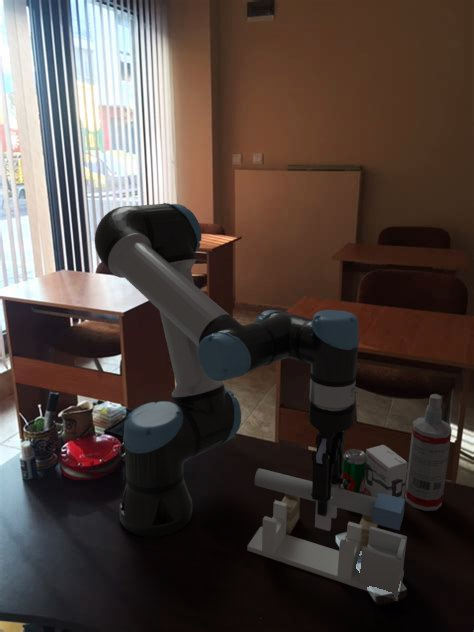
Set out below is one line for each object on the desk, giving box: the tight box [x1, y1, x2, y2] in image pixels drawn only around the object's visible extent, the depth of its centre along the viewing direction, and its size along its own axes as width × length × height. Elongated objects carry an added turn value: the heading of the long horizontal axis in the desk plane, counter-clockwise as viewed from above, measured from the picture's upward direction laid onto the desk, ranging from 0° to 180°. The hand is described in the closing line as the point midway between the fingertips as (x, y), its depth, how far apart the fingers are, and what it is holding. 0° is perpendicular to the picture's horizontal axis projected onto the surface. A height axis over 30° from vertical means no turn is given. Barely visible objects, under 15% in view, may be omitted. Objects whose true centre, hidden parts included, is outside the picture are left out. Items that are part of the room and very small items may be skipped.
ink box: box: [364, 444, 408, 499], centre depth 116 cm, size 8×5×12 cm, turn 23°
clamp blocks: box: [280, 493, 379, 551], centre depth 106 cm, size 19×6×6 cm, turn 64°
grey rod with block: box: [254, 468, 406, 531], centre depth 96 cm, size 26×4×3 cm, turn 65°
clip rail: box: [246, 499, 408, 602], centre depth 99 cm, size 28×7×8 cm, turn 64°
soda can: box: [340, 448, 367, 495], centre depth 116 cm, size 5×5×12 cm
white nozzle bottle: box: [404, 393, 453, 512], centre depth 115 cm, size 8×8×25 cm
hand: (325, 521), depth 97 cm, fingers closed on grey rod with block, 3 cm apart
